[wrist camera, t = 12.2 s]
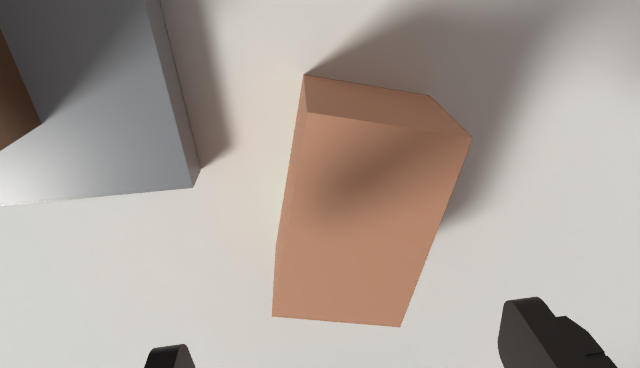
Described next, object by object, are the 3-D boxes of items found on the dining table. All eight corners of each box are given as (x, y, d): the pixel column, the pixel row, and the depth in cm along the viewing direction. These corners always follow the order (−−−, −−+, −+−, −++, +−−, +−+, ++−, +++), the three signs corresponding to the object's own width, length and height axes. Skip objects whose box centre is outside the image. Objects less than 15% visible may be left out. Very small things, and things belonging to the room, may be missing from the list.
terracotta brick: (428, 94, 16) (472, 137, 12) (378, 254, 20) (400, 327, 16) (303, 73, 15) (307, 112, 11) (276, 242, 19) (271, 316, 15)
